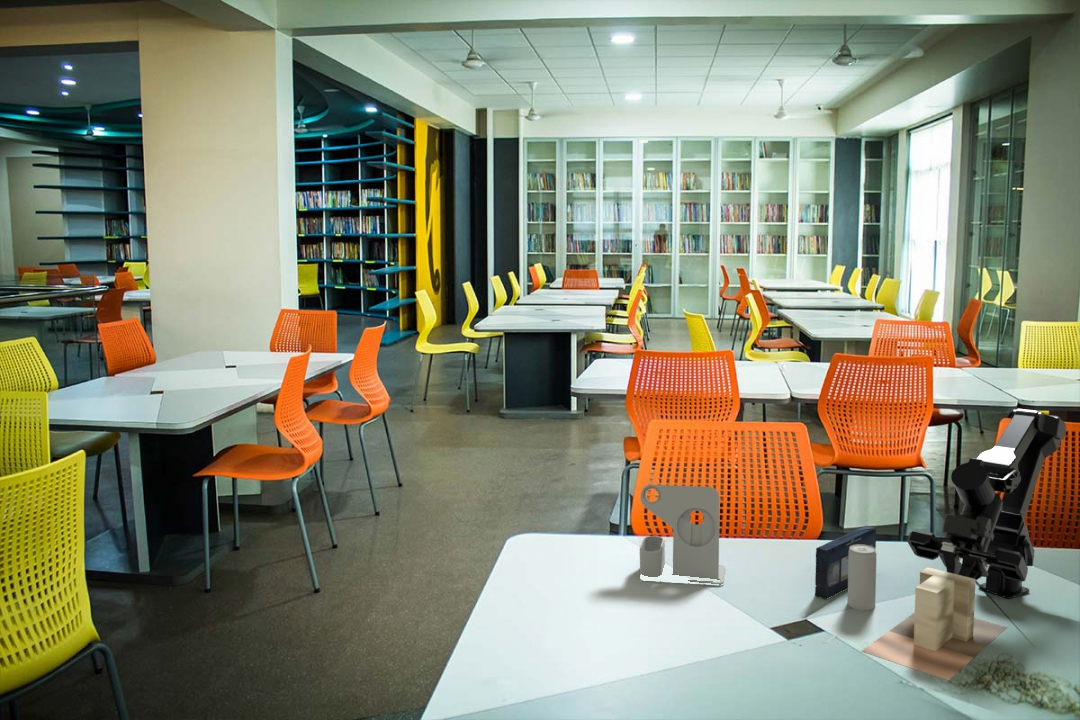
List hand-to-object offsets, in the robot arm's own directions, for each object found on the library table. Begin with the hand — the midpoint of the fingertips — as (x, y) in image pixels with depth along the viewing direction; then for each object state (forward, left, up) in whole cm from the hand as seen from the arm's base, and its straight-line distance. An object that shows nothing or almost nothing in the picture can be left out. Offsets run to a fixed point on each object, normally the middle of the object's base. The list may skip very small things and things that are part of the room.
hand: (950, 597), depth 150 cm
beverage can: (+5, -15, -7) cm, 17 cm away
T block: (+5, +1, -6) cm, 8 cm away
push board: (+5, +1, -7) cm, 9 cm away
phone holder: (+22, -47, -7) cm, 52 cm away
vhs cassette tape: (-2, -25, -7) cm, 26 cm away
